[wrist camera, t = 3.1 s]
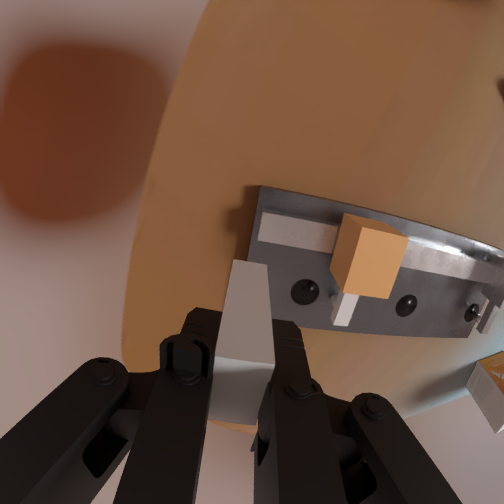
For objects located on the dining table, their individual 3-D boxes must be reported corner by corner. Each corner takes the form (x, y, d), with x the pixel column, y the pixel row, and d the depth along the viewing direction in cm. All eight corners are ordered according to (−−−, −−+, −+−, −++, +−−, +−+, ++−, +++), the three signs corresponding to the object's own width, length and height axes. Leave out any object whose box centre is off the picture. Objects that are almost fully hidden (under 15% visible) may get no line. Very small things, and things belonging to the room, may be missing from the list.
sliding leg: (339, 209, 23) (362, 226, 18) (378, 218, 24) (409, 238, 18) (313, 303, 27) (325, 340, 21) (350, 308, 27) (368, 344, 21)
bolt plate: (260, 185, 25) (261, 196, 18) (499, 248, 26) (531, 268, 19) (237, 311, 29) (232, 353, 23) (463, 333, 30) (487, 361, 24)
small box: (504, 349, 32) (540, 392, 20) (491, 375, 34) (522, 418, 22) (477, 359, 32) (514, 410, 20) (464, 386, 34) (494, 435, 22)
